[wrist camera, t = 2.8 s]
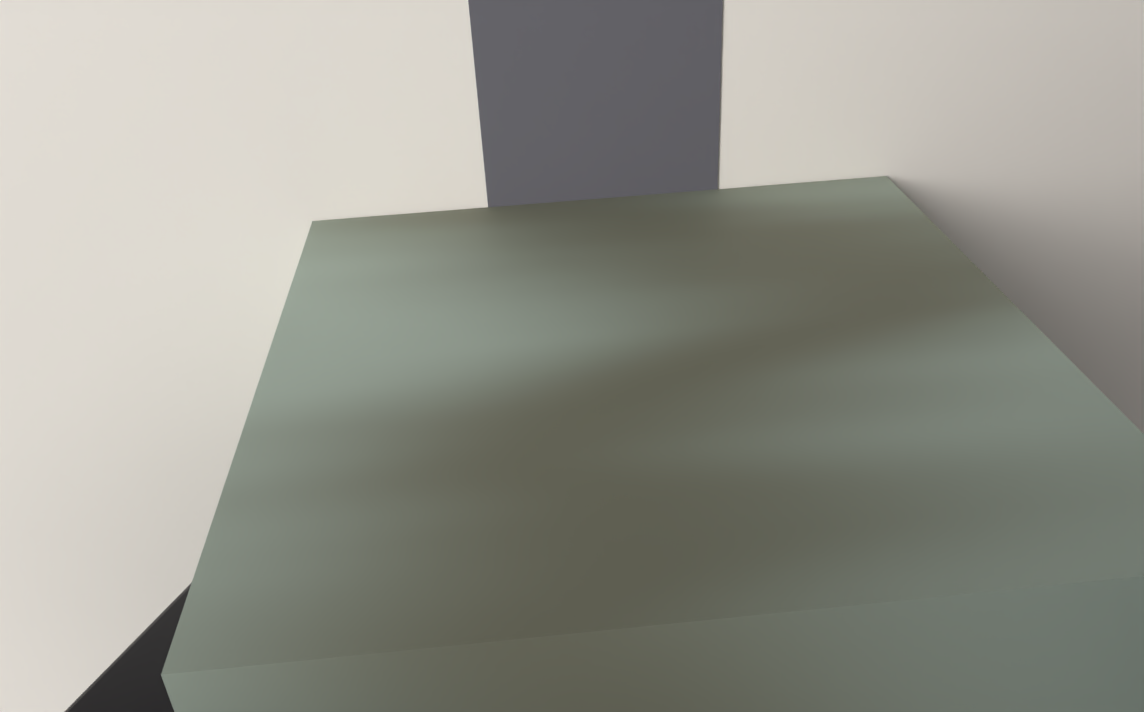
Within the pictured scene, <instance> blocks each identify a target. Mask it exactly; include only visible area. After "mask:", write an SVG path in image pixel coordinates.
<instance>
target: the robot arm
mask: <svg viewBox="0 0 1144 712" xmlns="http://www.w3.org/2000/svg"><path fill="white" fill-rule="evenodd" d="M191 583H192V582H191ZM191 583H190V584H189V585H188V586H187V587H186V588H185V589H184V591H183V592H182V593H181V594H180V595H179V596H178V597H177V598H176V599H175V600H174V601H173V602H172V603H171V604H170V605H169V606H168V607H167V608H166V609H165V610H164V611H163V612H162V613H161V614H160V615H159V616H158V617H157V618H156V619H155V620H154V621H153V622H152V623H151V624H150V625H149V626H148V627H147V628H146V629H145V630H144V631H143V632H142V633H141V634H140V635H139V636H138V637H137V638H136V639H135V640H134V641H133V642H132V643H131V644H130V645H129V646H128V647H127V648H126V649H125V650H124V651H123V652H122V654H121V655H120V656H119V657H118V658H117V659H116V660H115V661H114V662H113V663H112V664H111V665H110V666H109V667H108V668H107V669H106V670H105V671H104V672H103V673H102V674H101V675H100V676H99V677H98V678H97V679H96V680H95V681H94V682H93V683H92V684H91V685H90V686H89V687H88V688H87V689H86V690H85V691H84V692H83V693H82V694H81V695H80V696H79V697H78V698H77V699H76V700H75V701H74V702H73V703H72V704H71V705H70V706H69V707H68V708H67V709H66V710H65V711H64V712H174V709H173V707H172V704H171V701H170V698H169V696H168V693H167V690H166V687H165V685H164V682H163V679H162V676H161V673H162V670H163V667H164V664H165V661H166V658H167V655H168V652H169V649H170V646H171V643H172V640H173V637H174V634H175V631H176V628H177V625H178V622H179V619H180V616H181V613H182V610H183V607H184V604H185V601H186V598H187V595H188V592H189V589H190V586H191Z"/></svg>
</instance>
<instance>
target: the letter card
mask: <svg viewBox="0 0 1144 712" xmlns="http://www.w3.org/2000/svg"><path fill="white" fill-rule="evenodd" d="M881 176H887V177H888V178H889V179H890V180H891V181H892V182H893V183H894V184H895V185H896V186H897V187H898V188H899V189H900V190H901V191H902V192H903V193H904V194H905V195H906V196H907V197H908V198H909V199H910V200H911V201H912V202H913V203H914V204H915V205H916V206H917V207H918V208H919V209H920V210H921V211H922V212H923V213H924V214H925V215H926V216H927V217H928V218H929V219H930V220H931V221H932V222H933V223H934V224H935V225H936V226H937V227H938V228H939V229H940V230H941V231H942V232H943V233H944V234H945V235H946V236H947V237H948V238H949V239H950V240H951V241H952V242H953V243H954V244H955V245H956V246H957V247H958V248H959V249H960V250H961V251H962V252H963V253H964V254H965V255H966V256H967V257H968V258H969V259H970V260H971V261H972V262H973V263H974V264H975V265H976V266H977V267H978V268H979V269H980V270H981V271H982V272H983V273H984V274H985V275H986V276H987V277H988V278H989V279H990V280H991V281H992V282H993V283H994V284H995V285H996V286H997V287H998V288H999V289H1000V290H1001V291H1002V292H1003V293H1004V294H1005V295H1006V296H1007V297H1008V298H1009V299H1010V300H1011V301H1012V302H1013V303H1014V304H1015V305H1016V306H1017V307H1018V308H1019V309H1020V310H1021V311H1022V312H1023V313H1024V314H1025V315H1026V316H1027V317H1028V318H1029V319H1030V320H1031V321H1032V322H1033V323H1034V324H1035V325H1036V326H1037V327H1038V328H1039V329H1040V330H1041V331H1042V332H1043V333H1044V334H1045V335H1046V336H1047V337H1048V338H1049V339H1050V340H1051V341H1052V342H1053V343H1054V344H1055V345H1056V346H1057V347H1058V348H1059V349H1060V350H1061V351H1062V352H1063V353H1064V354H1065V355H1066V356H1067V357H1068V358H1069V359H1070V360H1071V362H1072V363H1073V364H1074V365H1075V366H1076V367H1077V368H1078V369H1079V370H1080V371H1081V372H1082V373H1083V374H1084V375H1085V376H1086V377H1087V378H1088V379H1089V380H1090V381H1091V382H1092V383H1093V384H1094V385H1095V386H1096V387H1097V388H1098V389H1099V390H1100V391H1101V392H1102V393H1103V394H1104V395H1105V396H1106V397H1107V398H1108V399H1109V400H1110V401H1111V402H1112V403H1113V404H1114V405H1115V406H1116V407H1117V408H1118V409H1119V410H1120V411H1121V412H1122V413H1123V414H1124V415H1125V416H1126V417H1127V418H1128V419H1129V420H1130V421H1131V422H1132V423H1133V424H1134V425H1135V426H1136V427H1137V428H1138V429H1139V430H1140V431H1141V432H1142V433H1143V434H1144V0H0V712H64V711H65V710H66V709H67V708H68V707H69V706H70V705H71V704H72V703H73V702H74V701H75V700H76V699H77V698H78V697H79V696H80V695H81V694H82V693H83V692H84V691H85V690H86V689H87V688H88V687H89V686H90V685H91V684H92V683H93V682H94V681H95V680H96V679H97V678H98V677H99V676H100V675H101V674H102V673H103V672H104V671H105V670H106V669H107V668H108V667H109V666H110V665H111V664H112V663H113V662H114V661H115V660H116V659H117V658H118V657H119V656H120V655H121V654H122V652H123V651H124V650H125V649H126V648H127V647H128V646H129V645H130V644H131V643H132V642H133V641H134V640H135V639H136V638H137V637H138V636H139V635H140V634H141V633H142V632H143V631H144V630H145V629H146V628H147V627H148V626H149V625H150V624H151V623H152V622H153V621H154V620H155V619H156V618H157V617H158V616H159V615H160V614H161V613H162V612H163V611H164V610H165V609H166V608H167V607H168V606H169V605H170V604H171V603H172V602H173V601H174V600H175V599H176V598H177V597H178V596H179V595H180V594H181V593H182V592H183V591H184V589H185V588H186V587H187V586H188V585H189V584H190V583H191V582H192V580H193V577H194V574H195V571H196V568H197V565H198V562H199V559H200V556H201V553H202V550H203V547H204V544H205V541H206V538H207V535H208V532H209V529H210V526H211V523H212V520H213V517H214V514H215V511H216V508H217V505H218V502H219V499H220V496H221V493H222V490H223V487H224V484H225V481H226V478H227V475H228V472H229V469H230V466H231V463H232V460H233V457H234V454H235V451H236V448H237V445H238V442H239V439H240V436H241V433H242V430H243V427H244V424H245V421H246V418H247V415H248V412H249V409H250V406H251V403H252V400H253V397H254V394H255V391H256V388H257V386H258V383H259V380H260V377H261V374H262V371H263V368H264V365H265V362H266V359H267V356H268V353H269V350H270V347H271V344H272V341H273V338H274V335H275V332H276V329H277V326H278V323H279V320H280V317H281V314H282V311H283V308H284V305H285V302H286V299H287V296H288V293H289V290H290V287H291V284H292V281H293V278H294V275H295V272H296V269H297V266H298V263H299V260H300V257H301V254H302V251H303V248H304V245H305V242H306V239H307V236H308V233H309V230H310V227H311V224H312V221H320V220H333V219H345V218H358V217H371V216H384V215H396V214H409V213H422V212H435V211H447V210H460V209H473V208H486V207H499V206H511V205H524V204H537V203H550V202H562V201H575V200H588V199H601V198H613V197H626V196H639V195H652V194H664V193H677V192H690V191H703V190H715V189H728V188H741V187H753V186H766V185H779V184H791V183H804V182H817V181H830V180H842V179H855V178H868V177H881Z"/></svg>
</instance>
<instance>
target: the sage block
mask: <svg viewBox="0 0 1144 712" xmlns="http://www.w3.org/2000/svg"><path fill="white" fill-rule="evenodd" d="M161 676H162V679H163V682H164V685H165V687H166V690H167V693H168V696H169V698H170V701H171V704H172V707H173V709H174V712H1144V434H1143V433H1142V432H1141V431H1140V430H1139V429H1138V428H1137V427H1136V426H1135V425H1134V424H1133V423H1132V422H1131V421H1130V420H1129V419H1128V418H1127V417H1126V416H1125V415H1124V414H1123V413H1122V412H1121V411H1120V410H1119V409H1118V408H1117V407H1116V406H1115V405H1114V404H1113V403H1112V402H1111V401H1110V400H1109V399H1108V398H1107V397H1106V396H1105V395H1104V394H1103V393H1102V392H1101V391H1100V390H1099V389H1098V388H1097V387H1096V386H1095V385H1094V384H1093V383H1092V382H1091V381H1090V380H1089V379H1088V378H1087V377H1086V376H1085V375H1084V374H1083V373H1082V372H1081V371H1080V370H1079V369H1078V368H1077V367H1076V366H1075V365H1074V364H1073V363H1072V362H1071V360H1070V359H1069V358H1068V357H1067V356H1066V355H1065V354H1064V353H1063V352H1062V351H1061V350H1060V349H1059V348H1058V347H1057V346H1056V345H1055V344H1054V343H1053V342H1052V341H1051V340H1050V339H1049V338H1048V337H1047V336H1046V335H1045V334H1044V333H1043V332H1042V331H1041V330H1040V329H1039V328H1038V327H1037V326H1036V325H1035V324H1034V323H1033V322H1032V321H1031V320H1030V319H1029V318H1028V317H1027V316H1026V315H1025V314H1024V313H1023V312H1022V311H1021V310H1020V309H1019V308H1018V307H1017V306H1016V305H1015V304H1014V303H1013V302H1012V301H1011V300H1010V299H1009V298H1008V297H1007V296H1006V295H1005V294H1004V293H1003V292H1002V291H1001V290H1000V289H999V288H998V287H997V286H996V285H995V284H994V283H993V282H992V281H991V280H990V279H989V278H988V277H987V276H986V275H985V274H984V273H983V272H982V271H981V270H980V269H979V268H978V267H977V266H976V265H975V264H974V263H973V262H972V261H971V260H970V259H969V258H968V257H967V256H966V255H965V254H964V253H963V252H962V251H961V250H960V249H959V248H958V247H957V246H956V245H955V244H954V243H953V242H952V241H951V240H950V239H949V238H948V237H947V236H946V235H945V234H944V233H943V232H942V231H941V230H940V229H939V228H938V227H937V226H936V225H935V224H934V223H933V222H932V221H931V220H930V219H929V218H928V217H927V216H926V215H925V214H924V213H923V212H922V211H921V210H920V209H919V208H918V207H917V206H916V205H915V204H914V203H913V202H912V201H911V200H910V199H909V198H908V197H907V196H906V195H905V194H904V193H903V192H902V191H901V190H900V189H899V188H898V187H897V186H896V185H895V184H894V183H893V182H892V181H891V180H890V179H889V178H888V177H887V176H881V177H868V178H855V179H842V180H830V181H817V182H804V183H791V184H779V185H766V186H753V187H741V188H728V189H715V190H703V191H690V192H677V193H664V194H652V195H639V196H626V197H613V198H601V199H588V200H575V201H562V202H550V203H537V204H524V205H511V206H499V207H486V208H473V209H460V210H447V211H435V212H422V213H409V214H396V215H384V216H371V217H358V218H345V219H333V220H320V221H312V224H311V227H310V230H309V233H308V236H307V239H306V242H305V245H304V248H303V251H302V254H301V257H300V260H299V263H298V266H297V269H296V272H295V275H294V278H293V281H292V284H291V287H290V290H289V293H288V296H287V299H286V302H285V305H284V308H283V311H282V314H281V317H280V320H279V323H278V326H277V329H276V332H275V335H274V338H273V341H272V344H271V347H270V350H269V353H268V356H267V359H266V362H265V365H264V368H263V371H262V374H261V377H260V380H259V383H258V386H257V388H256V391H255V394H254V397H253V400H252V403H251V406H250V409H249V412H248V415H247V418H246V421H245V424H244V427H243V430H242V433H241V436H240V439H239V442H238V445H237V448H236V451H235V454H234V457H233V460H232V463H231V466H230V469H229V472H228V475H227V478H226V481H225V484H224V487H223V490H222V493H221V496H220V499H219V502H218V505H217V508H216V511H215V514H214V517H213V520H212V523H211V526H210V529H209V532H208V535H207V538H206V541H205V544H204V547H203V550H202V553H201V556H200V559H199V562H198V565H197V568H196V571H195V574H194V577H193V580H192V583H191V586H190V589H189V592H188V595H187V598H186V601H185V604H184V607H183V610H182V613H181V616H180V619H179V622H178V625H177V628H176V631H175V634H174V637H173V640H172V643H171V646H170V649H169V652H168V655H167V658H166V661H165V664H164V667H163V670H162V673H161Z"/></svg>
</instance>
